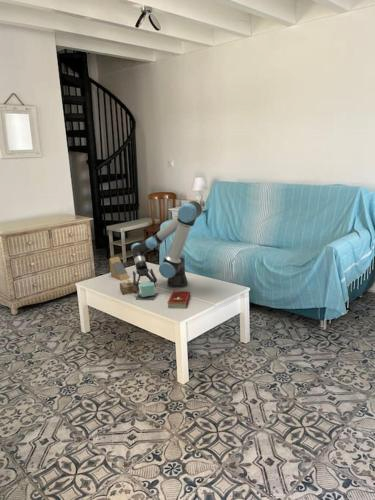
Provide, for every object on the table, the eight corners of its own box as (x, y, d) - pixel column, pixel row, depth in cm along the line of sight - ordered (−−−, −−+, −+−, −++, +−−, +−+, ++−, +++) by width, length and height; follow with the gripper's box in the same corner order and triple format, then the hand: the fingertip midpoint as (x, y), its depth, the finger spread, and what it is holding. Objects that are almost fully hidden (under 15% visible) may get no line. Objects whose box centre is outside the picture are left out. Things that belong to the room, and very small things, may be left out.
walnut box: (136, 287, 288) (135, 277, 287) (140, 292, 278) (139, 282, 277) (120, 289, 284) (119, 280, 283) (123, 294, 274) (122, 284, 273)
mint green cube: (151, 290, 274) (150, 281, 273) (155, 294, 266) (154, 285, 264) (138, 292, 271) (138, 282, 270) (141, 296, 263) (141, 286, 261)
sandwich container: (121, 281, 303) (119, 262, 299) (110, 276, 314) (109, 258, 311) (130, 278, 309) (129, 259, 305) (119, 274, 320) (118, 256, 316)
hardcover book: (190, 296, 268) (190, 290, 267) (186, 308, 248) (186, 302, 247) (173, 296, 270) (172, 290, 269) (167, 308, 249) (167, 302, 248)
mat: (157, 293, 274) (157, 293, 274) (153, 300, 263) (153, 299, 262) (140, 293, 276) (140, 292, 276) (135, 299, 265) (135, 298, 264)
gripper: (154, 264, 283) (162, 292, 272) (124, 268, 275) (131, 297, 265) (156, 259, 276) (164, 287, 266) (125, 263, 269) (132, 292, 259)
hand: (147, 292), depth 265 cm, fingers closed on mint green cube, 9 cm apart
